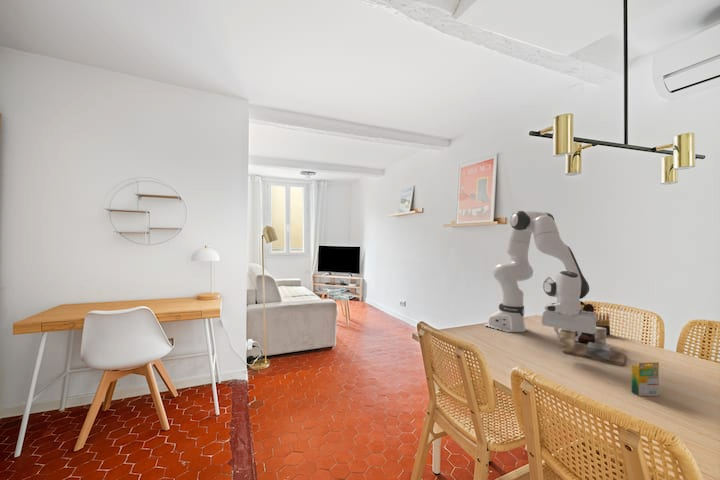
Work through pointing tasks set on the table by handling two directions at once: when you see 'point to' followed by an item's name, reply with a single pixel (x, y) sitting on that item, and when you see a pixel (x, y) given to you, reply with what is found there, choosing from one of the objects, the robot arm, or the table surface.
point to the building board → (583, 353)
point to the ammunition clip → (603, 323)
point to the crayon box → (645, 379)
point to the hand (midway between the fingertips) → (567, 339)
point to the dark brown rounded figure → (583, 336)
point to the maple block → (567, 337)
